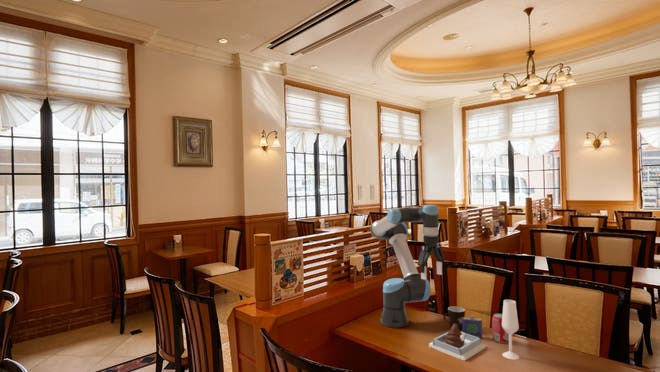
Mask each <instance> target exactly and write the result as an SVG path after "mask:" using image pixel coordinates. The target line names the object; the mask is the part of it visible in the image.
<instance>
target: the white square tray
mask: <svg viewBox="0 0 660 372" xmlns="http://www.w3.org/2000/svg"><path fill="white" fill-rule="evenodd" d="M448 332H449V331H447V332H445V333H443V334H441V335H438V336H437V337H434V338H433V339H432V341H431V342H430V343H428V347H429V348H431V347H432V349H433V348H434V350H435V351H438V352H440V353H444V354H445V355H446V354H447V355H449V356H451V357H453V358H456V359H458V360H462V361H464V362H465V361H467V360H468V359H470V358H471V357H473V356H474V355H477V354H478V353H480V352H481V351H483V350H484V349H486V344H484V343H482V342H481V340H482V338H479V337H476V336H473V335H470V334H467V333H465V340H464V345H463V346H462V347H461V348H456V347H454V346H451V345H448V344H446V336H447V333H448ZM460 332H463V331H462V330H460ZM463 333H464V332H463Z"/></svg>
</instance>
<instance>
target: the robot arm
mask: <svg viewBox="0 0 660 372" xmlns="http://www.w3.org/2000/svg"><path fill="white" fill-rule="evenodd" d="M406 223H422V227H423V228H422V231H423V232H422V234H423V238H422V239H423V243H424V245H421V246H420V253H419V257H418V260H417V266H419V267H420V273H419V271H418V269H417V266H416V264H415V261H414V259H413V256H412V254H411V253H412V252H411V251H410V248H409V245H408V242H407V238H408V236H409V229H408V226H407V224H406ZM369 232H370V234H371V236H372V237H373V238H375V239H377V240H388V243H389V244H390V245H391V246H392V247H393V251H394V253H395V256H396V258H397V261H398V264H399V268H400V269H401V272H402V275H403V278H400V277H394V278H393V277H392V278H389V279H386V280H385V281H384V282H383V285H382V294H383V299H382V300H383V301H382V302H383V309H382V312H381V316H380V323H381V325H383V326H385V327H388V328H392V329H393V328H397V329H399V328H404V327H407V326H408V325H409V317H408V316H407V312H406V303H417V302H419V303H421V302H425V301H428V300H429V298H430V297H431V293H432V291H431V290H432V289H431V283H430V281H429V280H428V278H427V276H428V275H427V266H426V265H427V262H428V260H429V258H430V256H431V255H432V254H433V255H434V258H435V259H436V260H437V261H436V274H437V275H441V276H443V263H444V262H445V259H446V258H445V255H444V252H443V249H442V243H439V241H440V239H439V238H440V236H439V208H438V205H436V204H424V205H423V206H422V207H417V206H416V207H410V208H407V207H406V208H405V207H404V208H390V209H388V211H387V214H386V215H385V216H384V217H382V218H381V219H379V220H375V221H374V222H372V223H371V224H370V228H369Z"/></svg>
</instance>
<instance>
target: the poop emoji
mask: <svg viewBox="0 0 660 372" xmlns="http://www.w3.org/2000/svg"><path fill="white" fill-rule="evenodd" d="M460 331H461V330H459V328H458V326H457V324H455V323H454V324H453V326H452V327H451V328H450V329H449V330H448V331H447V332H448V333H447V332H446V333H447V336H446V344H448V345H451V346H454V347H456V348H461V347H462V346H463V345H464V340H465V333H463V331H461V332H460Z"/></svg>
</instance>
